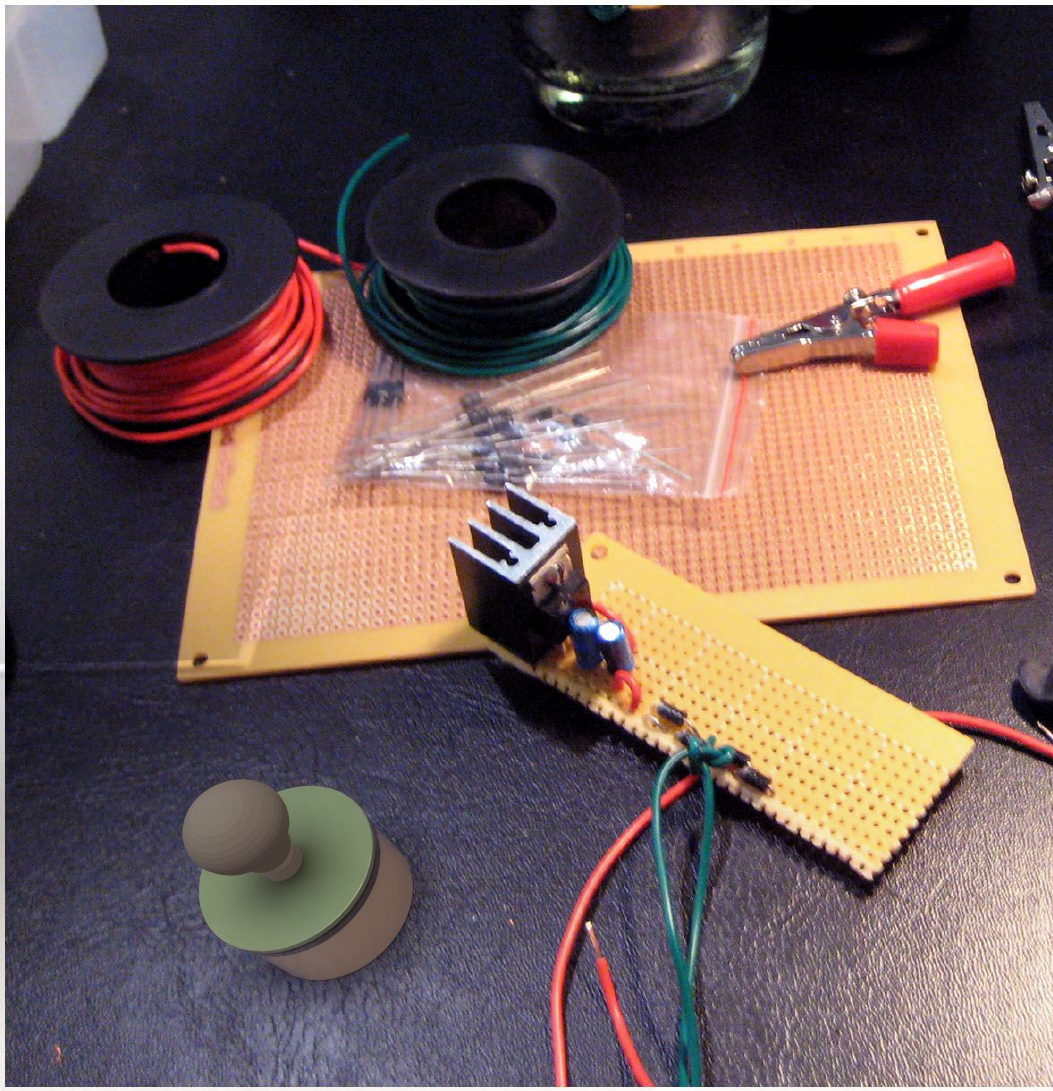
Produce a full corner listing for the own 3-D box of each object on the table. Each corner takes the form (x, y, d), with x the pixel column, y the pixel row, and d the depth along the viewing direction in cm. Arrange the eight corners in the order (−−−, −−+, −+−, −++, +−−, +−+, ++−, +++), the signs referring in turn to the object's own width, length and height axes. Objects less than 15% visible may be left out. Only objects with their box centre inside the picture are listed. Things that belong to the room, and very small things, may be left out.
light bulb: (318, 907, 81) (246, 855, 72) (229, 908, 81) (148, 857, 73) (340, 821, 84) (275, 763, 76) (255, 823, 84) (180, 764, 76)
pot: (255, 1004, 86) (193, 972, 79) (260, 852, 92) (202, 809, 85) (421, 959, 87) (374, 924, 80) (414, 812, 93) (370, 767, 86)
